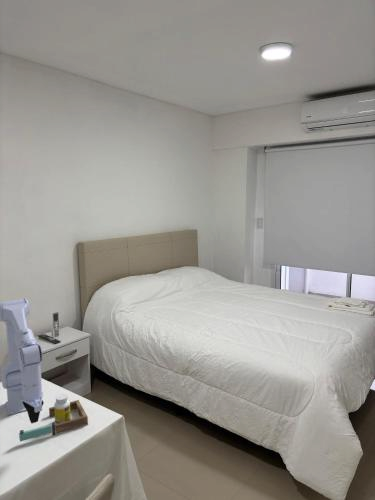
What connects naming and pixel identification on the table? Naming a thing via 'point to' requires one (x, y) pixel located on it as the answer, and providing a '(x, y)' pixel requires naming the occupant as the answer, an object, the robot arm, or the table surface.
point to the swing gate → (34, 432)
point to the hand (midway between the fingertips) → (34, 421)
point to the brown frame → (73, 422)
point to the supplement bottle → (62, 409)
